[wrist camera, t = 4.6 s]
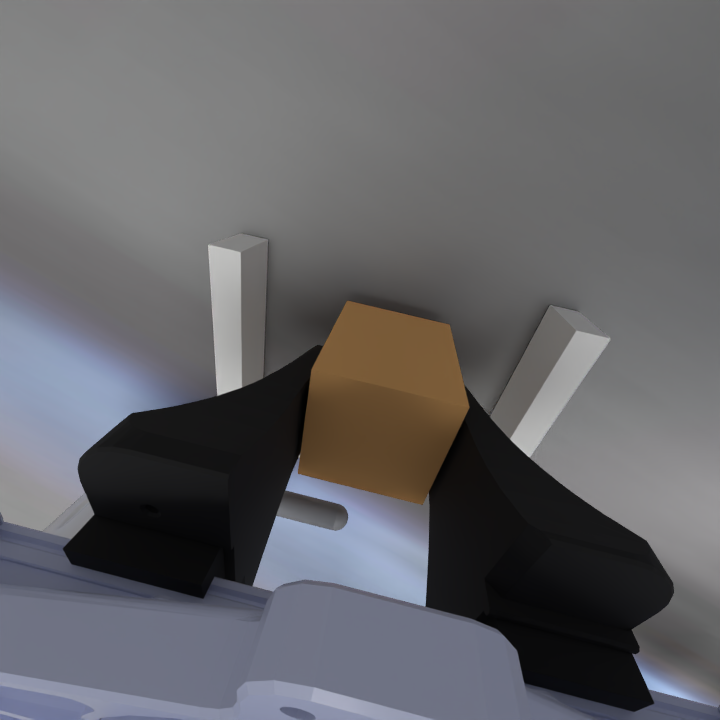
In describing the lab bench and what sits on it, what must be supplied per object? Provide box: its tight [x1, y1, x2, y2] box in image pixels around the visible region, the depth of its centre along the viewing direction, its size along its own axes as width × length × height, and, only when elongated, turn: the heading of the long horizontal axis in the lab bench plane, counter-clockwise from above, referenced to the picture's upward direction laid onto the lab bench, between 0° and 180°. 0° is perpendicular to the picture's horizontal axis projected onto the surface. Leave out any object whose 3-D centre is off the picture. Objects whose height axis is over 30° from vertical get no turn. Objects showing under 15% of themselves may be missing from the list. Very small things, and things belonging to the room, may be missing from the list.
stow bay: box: [208, 233, 611, 531], centre depth 13 cm, size 14×10×6 cm
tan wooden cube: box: [298, 301, 470, 505], centre depth 11 cm, size 4×4×5 cm
